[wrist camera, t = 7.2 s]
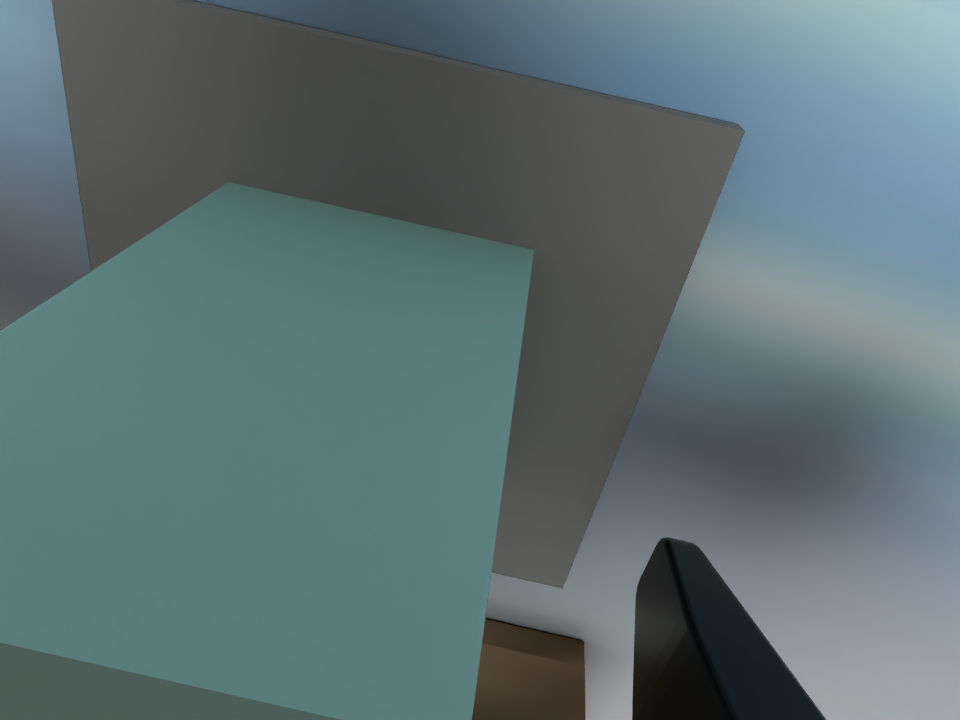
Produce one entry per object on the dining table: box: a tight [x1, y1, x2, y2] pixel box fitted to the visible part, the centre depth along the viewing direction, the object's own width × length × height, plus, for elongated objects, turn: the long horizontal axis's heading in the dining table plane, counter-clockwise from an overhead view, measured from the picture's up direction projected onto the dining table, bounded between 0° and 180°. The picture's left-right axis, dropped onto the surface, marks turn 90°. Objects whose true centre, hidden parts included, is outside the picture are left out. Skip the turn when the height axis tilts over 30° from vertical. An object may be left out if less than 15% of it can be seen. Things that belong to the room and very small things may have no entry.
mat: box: [52, 0, 745, 588], centre depth 11 cm, size 9×9×1 cm
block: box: [0, 182, 534, 720], centre depth 8 cm, size 4×4×7 cm
